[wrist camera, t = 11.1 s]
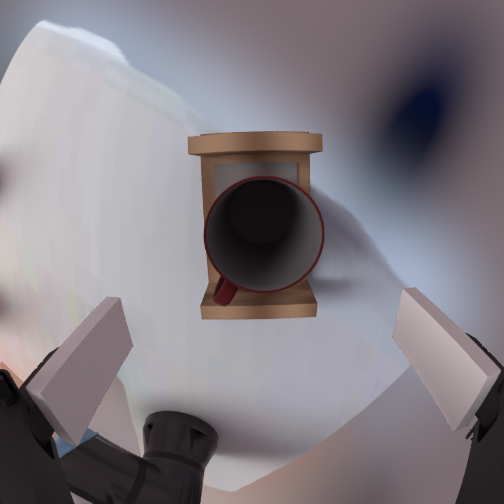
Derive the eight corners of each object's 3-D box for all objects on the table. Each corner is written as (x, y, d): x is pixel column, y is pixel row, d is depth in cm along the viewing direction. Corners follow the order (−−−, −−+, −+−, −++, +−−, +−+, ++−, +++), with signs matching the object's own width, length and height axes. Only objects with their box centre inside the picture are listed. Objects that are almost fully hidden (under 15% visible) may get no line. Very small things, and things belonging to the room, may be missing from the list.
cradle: (211, 296, 35) (202, 326, 28) (202, 135, 29) (187, 127, 22) (304, 294, 35) (315, 323, 28) (306, 133, 29) (321, 124, 22)
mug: (259, 285, 33) (261, 338, 23) (194, 248, 32) (166, 288, 21) (315, 200, 30) (346, 218, 19) (247, 157, 29) (243, 152, 18)
